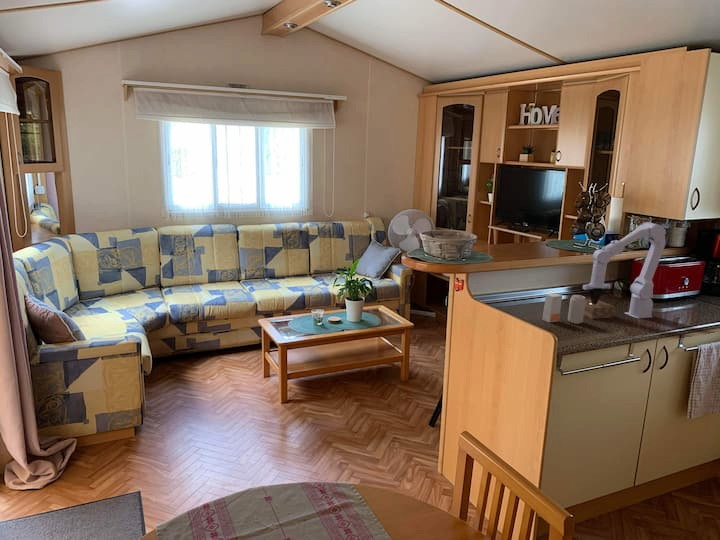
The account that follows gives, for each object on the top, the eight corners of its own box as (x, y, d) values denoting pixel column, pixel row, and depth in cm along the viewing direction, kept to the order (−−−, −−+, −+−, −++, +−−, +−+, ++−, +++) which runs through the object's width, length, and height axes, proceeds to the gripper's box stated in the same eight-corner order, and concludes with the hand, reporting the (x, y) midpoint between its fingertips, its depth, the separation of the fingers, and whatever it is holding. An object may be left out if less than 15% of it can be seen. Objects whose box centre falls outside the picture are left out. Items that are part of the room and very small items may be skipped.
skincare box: (549, 323, 243) (552, 296, 241) (541, 320, 247) (545, 294, 244) (559, 321, 246) (562, 295, 243) (551, 318, 250) (555, 293, 247)
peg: (593, 309, 263) (594, 302, 262) (600, 312, 259) (601, 304, 258) (585, 310, 262) (587, 302, 261) (592, 312, 258) (593, 305, 257)
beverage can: (583, 325, 243) (587, 299, 240) (568, 323, 244) (572, 297, 241) (581, 320, 249) (584, 295, 246) (566, 319, 250) (569, 293, 247)
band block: (593, 308, 269) (595, 299, 268) (613, 317, 257) (615, 306, 256) (571, 310, 264) (573, 300, 263) (591, 318, 253) (593, 308, 251)
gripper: (604, 273, 263) (600, 300, 266) (579, 274, 258) (575, 302, 261) (615, 276, 256) (611, 304, 259) (590, 277, 251) (586, 306, 254)
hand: (594, 303), depth 260 cm, fingers closed, pressing on peg
